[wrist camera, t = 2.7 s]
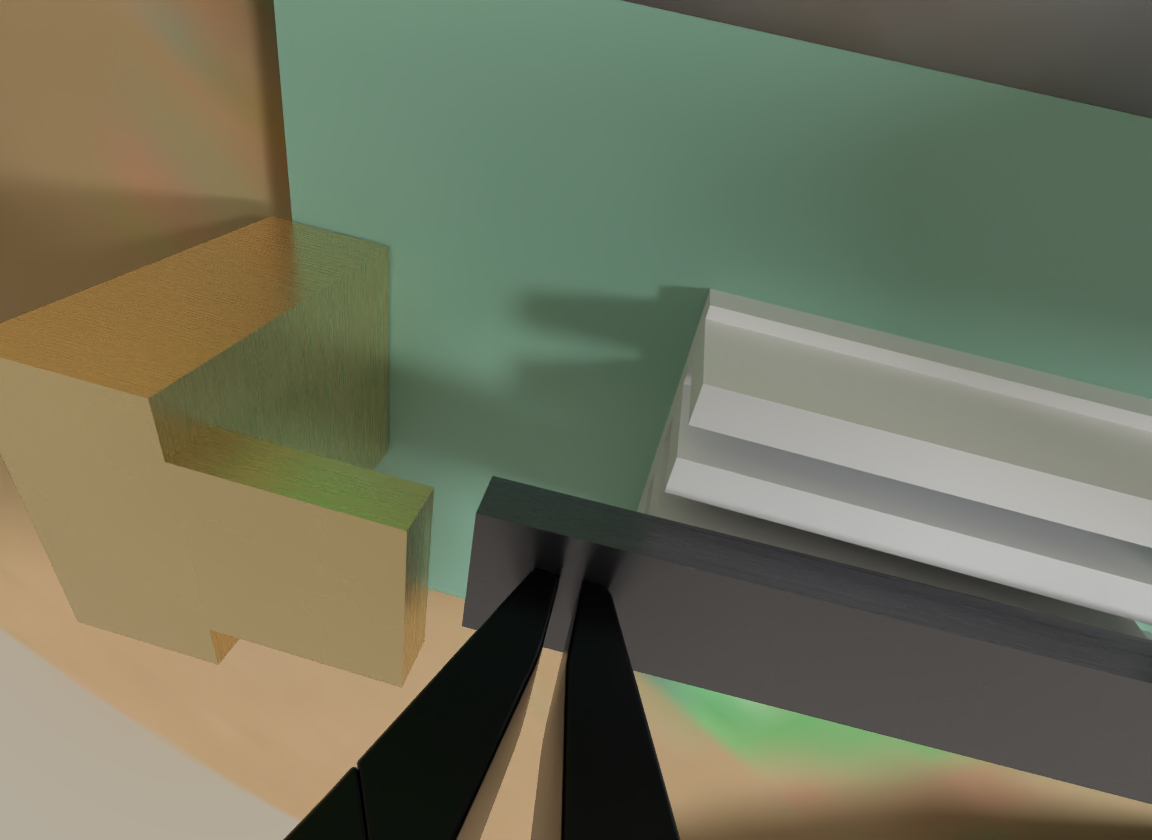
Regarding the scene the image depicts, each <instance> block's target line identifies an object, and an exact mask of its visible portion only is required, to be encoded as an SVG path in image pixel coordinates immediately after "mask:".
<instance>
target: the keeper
mask: <svg viewBox="0 0 1152 840" xmlns="http://www.w3.org/2000/svg"><path fill="white" fill-rule="evenodd" d="M388 368H389V246H387V245H383V244H379V243H375V242H371V241H367V240H363V239H359V238H355V237H351V236H347V235H343V234H339V233H336V232H332V231H328V230H324V229H320V228H316V227H312V226H308V225H304V224H300V223H296V222H292V221H288V220H285V219H281V218H277V217H273V216H270V217H268V218H265V219H263V220H260V221H258V222H255V223H252V224H250V225H247V226H245V227H242V228H240V229H237V230H235V231H232V232H230V233H227V234H225V235H222V236H220V237H217V238H215V239H212V240H209V241H207V242H204V243H202V244H199V245H197V246H194V247H192V248H189V249H187V250H184V251H182V252H179V253H177V254H174V255H172V256H169V257H166V258H164V259H161V260H159V261H156V262H154V263H151V264H149V265H146V266H144V267H141V268H139V269H136V270H134V271H131V272H129V273H126V274H123V275H121V276H118V277H116V278H113V279H111V280H108V281H106V282H103V283H101V284H98V285H96V286H93V287H91V288H88V289H86V290H83V291H80V292H78V293H75V294H73V295H70V296H68V297H65V298H63V299H60V300H58V301H55V302H53V303H50V304H48V305H45V306H43V307H40V308H37V309H35V310H32V311H30V312H27V313H25V314H22V315H20V316H17V317H15V318H12V319H10V320H7V321H5V322H2V323H0V454H1V456H2V458H3V460H4V462H5V465H6V467H7V469H8V471H9V473H10V475H11V478H12V480H13V482H14V484H15V486H16V488H17V491H18V493H19V495H20V497H21V499H22V501H23V504H24V506H25V508H26V510H27V512H28V515H29V517H30V519H31V521H32V523H33V525H34V528H35V530H36V532H37V534H38V536H39V538H40V541H41V543H42V545H43V547H44V549H45V551H46V554H47V556H48V558H49V560H50V562H51V564H52V567H53V569H54V571H55V573H56V575H57V577H58V580H59V582H60V584H61V586H62V588H63V591H64V593H65V595H66V597H67V599H68V601H69V604H70V606H71V608H72V610H73V612H74V614H75V617H76V619H77V621H78V622H80V623H84V624H87V625H90V626H94V627H97V628H100V629H103V630H107V631H110V632H113V633H116V634H120V635H123V636H126V637H130V638H133V639H136V640H139V641H143V642H146V643H149V644H152V645H156V646H159V647H162V648H166V649H169V650H172V651H175V652H179V653H182V654H185V655H188V656H192V657H195V658H198V659H202V660H205V661H208V662H211V663H215V664H218V665H219V663H220V662H221V661H222V660H223V658H224V657H225V656H226V655H227V653H228V652H229V651H230V650H231V648H232V647H233V646H234V645H235V643H236V642H237V641H238V640H239V638H240V639H243V640H246V641H250V642H253V643H256V644H260V645H263V646H266V647H269V648H273V649H276V650H279V651H283V652H286V653H289V654H293V655H296V656H299V657H303V658H306V659H309V660H312V661H316V662H319V663H322V664H326V665H329V666H332V667H336V668H339V669H342V670H346V671H349V672H352V673H356V674H359V675H362V676H365V677H369V678H372V679H375V680H379V681H382V682H385V683H389V684H392V685H395V686H399V687H402V686H403V684H404V682H405V680H406V678H407V676H408V674H409V672H410V670H411V668H412V665H413V663H414V661H415V659H416V657H417V655H418V653H419V651H420V649H421V647H422V645H423V643H424V637H425V622H426V607H427V592H428V577H429V561H430V546H431V531H432V516H433V500H434V487H430V486H427V485H423V484H420V483H416V482H412V481H409V480H405V479H402V478H398V477H395V476H391V475H387V474H384V473H380V472H377V471H373V470H374V469H375V467H376V466H377V465H378V464H379V462H380V461H381V460H382V459H383V457H384V456H385V455H386V454H387V452H388Z"/></svg>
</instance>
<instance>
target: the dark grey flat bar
mask: <svg viewBox="0 0 1152 840" xmlns="http://www.w3.org/2000/svg"><path fill="white" fill-rule="evenodd" d="M534 570H537V571H541V572H544V573H548V574H552V575H556V576H557V577H558V578H559V586H558V590H557V594H556V597H555V601H554V605H553V609H552V613H551V617H550V621H549V625H548V629H547V633H546V636H545V640H544V644H543V647H545V648H549V649H553V650H557V651H560V652H563V651H564V647H565V642H566V638H567V634H568V630H569V626H570V622H571V618H572V615H573V612H574V608H575V605H576V601H577V598H578V594H579V591H580V588H581V586H582V585H584V584H589V585H593V586H597V587H600V588H604V589H607V590H608V591H609V592H610V593H611V595H612V598H613V601H614V605H615V608H616V612H617V616H618V619H619V623H620V626H621V630H622V633H623V637H624V641H625V644H626V648H627V651H628V655H629V658H630V662H631V666H632V669H633V670H634V671H638V672H642V673H646V674H650V675H653V676H657V677H661V678H665V679H669V680H673V681H677V682H681V683H684V684H688V685H692V686H696V687H700V688H704V689H708V690H712V691H715V692H719V693H723V694H727V695H731V696H735V697H739V698H743V699H746V700H750V701H754V702H758V703H762V704H766V705H770V706H774V707H777V708H781V709H785V710H789V711H793V712H797V713H801V714H804V715H808V716H812V717H816V718H820V719H824V720H828V721H832V722H835V723H839V724H843V725H847V726H851V727H855V728H859V729H863V730H866V731H870V732H874V733H878V734H882V735H886V736H890V737H894V738H897V739H901V740H905V741H909V742H913V743H917V744H921V745H925V746H928V747H932V748H936V749H940V750H944V751H948V752H952V753H956V754H959V755H963V756H967V757H971V758H975V759H979V760H983V761H987V762H990V763H994V764H998V765H1002V766H1006V767H1010V768H1014V769H1018V770H1021V771H1025V772H1029V773H1033V774H1037V775H1041V776H1045V777H1049V778H1052V779H1056V780H1060V781H1064V782H1068V783H1072V784H1076V785H1080V786H1083V787H1087V788H1091V789H1095V790H1099V791H1103V792H1107V793H1111V794H1114V795H1118V796H1122V797H1126V798H1130V799H1134V800H1138V801H1142V802H1145V803H1149V804H1152V640H1148V639H1144V638H1140V637H1136V636H1132V635H1128V634H1124V633H1120V632H1116V631H1112V630H1108V629H1104V628H1100V627H1096V626H1092V625H1088V624H1084V623H1080V622H1076V621H1072V620H1068V619H1064V618H1060V617H1056V616H1052V615H1048V614H1044V613H1040V612H1036V611H1032V610H1028V609H1024V608H1020V607H1016V606H1012V605H1008V604H1004V603H1000V602H996V601H992V600H988V599H984V598H980V597H976V596H972V595H968V594H964V593H960V592H956V591H952V590H948V589H944V588H940V587H936V586H932V585H928V584H924V583H920V582H916V581H912V580H908V579H904V578H900V577H896V576H892V575H888V574H884V573H880V572H876V571H872V570H868V569H864V568H860V567H856V566H852V565H848V564H844V563H840V562H836V561H832V560H828V559H824V558H820V557H816V556H812V555H808V554H804V553H800V552H796V551H792V550H788V549H784V548H780V547H776V546H772V545H768V544H764V543H760V542H756V541H752V540H748V539H744V538H740V537H736V536H732V535H728V534H724V533H720V532H716V531H712V530H708V529H704V528H700V527H696V526H692V525H688V524H684V523H680V522H676V521H672V520H668V519H664V518H660V517H656V516H652V515H648V514H644V513H640V512H636V511H632V510H628V509H624V508H620V507H616V506H612V505H608V504H604V503H600V502H596V501H592V500H588V499H584V498H580V497H576V496H572V495H568V494H564V493H560V492H556V491H552V490H548V489H544V488H540V487H536V486H532V485H528V484H524V483H520V482H516V481H512V480H508V479H504V478H500V477H496V476H492V478H491V480H490V482H489V485H488V487H487V489H486V491H485V494H484V496H483V498H482V500H481V503H480V505H479V507H478V509H477V512H476V516H475V524H474V532H473V540H472V548H471V557H470V565H469V573H468V581H467V590H466V598H465V606H464V614H463V622H462V626H464V627H467V628H471V629H475V630H478V629H479V627H480V626H481V625H482V624H483V623H484V622H485V621H486V620H487V619H488V618H489V617H490V615H491V614H492V613H493V612H494V611H495V610H496V609H497V608H498V607H499V606H500V604H501V603H502V602H503V601H504V600H505V599H506V598H507V597H508V596H509V595H510V593H511V592H512V591H513V590H514V589H515V588H516V587H517V586H518V585H519V584H520V582H521V581H522V580H523V579H524V578H525V577H526V576H527V575H528V574H529V573H530V572H531V571H534Z"/></svg>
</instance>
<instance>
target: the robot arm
mask: <svg viewBox="0 0 1152 840" xmlns="http://www.w3.org/2000/svg"><path fill="white" fill-rule="evenodd" d="M558 586H559V578H558V577H557V576H556V575H552V574H548V573H544V572H541V571H537V570H534V571H531V572H530V573H529V574H528V575H527V576H526V577H525V578H524V579H523V580H522V581H521V582H520V584H519V585H518V586H517V587H516V588H515V589H514V590H513V591H512V592H511V593H510V595H509V596H508V597H507V598H506V599H505V600H504V601H503V602H502V603H501V604H500V606H499V607H498V608H497V609H496V610H495V611H494V612H493V613H492V614H491V615H490V617H489V618H488V619H487V620H486V621H485V622H484V623H483V624H482V625H481V626H480V627H479V629H478V630H477V631H476V632H475V633H474V634H473V635H472V636H471V637H470V638H469V640H468V641H467V642H466V643H465V644H464V645H463V646H462V647H461V648H460V649H459V651H458V652H457V653H456V654H455V655H454V656H453V657H452V658H451V659H450V660H449V661H448V663H447V664H446V665H445V666H444V667H443V668H442V669H441V670H440V671H439V672H438V674H437V675H436V676H435V677H434V678H433V679H432V680H431V681H430V682H429V683H428V685H427V686H426V687H425V688H424V689H423V690H422V691H421V692H420V693H419V694H418V695H417V697H416V698H415V699H414V700H413V701H412V702H411V703H410V704H409V705H408V706H407V708H406V709H405V710H404V711H403V712H402V713H401V714H400V715H399V716H398V717H397V719H396V720H395V721H394V722H393V723H392V724H391V725H390V726H389V727H388V728H387V730H386V731H385V732H384V733H383V734H382V735H381V736H380V737H379V738H378V739H377V740H376V742H375V743H374V744H373V745H372V746H371V747H370V748H369V749H368V750H367V751H366V753H365V754H364V755H363V756H362V757H361V758H360V759H359V760H358V762H357V768H356V767H352V768H351V769H350V770H349V771H348V772H347V773H346V774H345V775H344V776H343V777H342V778H341V779H340V781H339V782H338V783H337V784H336V785H335V786H334V787H333V788H332V789H331V790H330V792H329V793H328V794H327V795H326V796H325V797H324V798H323V799H322V800H321V801H320V802H319V803H318V804H317V805H316V806H315V807H314V808H313V809H312V810H311V811H310V813H309V814H308V815H307V816H306V817H305V818H304V819H303V820H302V821H301V822H300V823H299V824H298V825H297V826H296V827H295V828H294V829H293V830H292V831H291V833H289V834H288V835H287V836H286V838H285V839H283V840H480V838H481V835H482V833H483V830H484V827H485V825H486V822H487V819H488V817H489V814H490V812H491V809H492V806H493V804H494V801H495V799H496V796H497V793H498V791H499V788H500V786H501V783H502V780H503V778H504V775H505V773H506V770H507V767H508V765H509V762H510V760H511V757H512V754H513V752H514V749H515V746H516V743H517V740H518V738H519V735H520V732H521V728H522V725H523V721H524V718H525V714H526V710H527V706H528V703H529V699H530V695H531V691H532V687H533V683H534V679H535V675H536V671H537V668H538V664H539V660H540V656H541V652H542V648H543V644H544V640H545V636H546V633H547V629H548V625H549V621H550V617H551V613H552V609H553V605H554V601H555V597H556V594H557V590H558ZM531 840H680V837H679V833H678V830H677V826H676V822H675V819H674V815H673V812H672V808H671V805H670V801H669V797H668V794H667V790H666V787H665V783H664V780H663V776H662V773H661V769H660V765H659V762H658V758H657V755H656V751H655V748H654V744H653V740H652V737H651V733H650V730H649V726H648V723H647V719H646V715H645V712H644V708H643V705H642V701H641V698H640V694H639V690H638V687H637V683H636V680H635V676H634V673H633V669H632V666H631V662H630V658H629V655H628V651H627V648H626V644H625V641H624V637H623V633H622V630H621V626H620V623H619V619H618V616H617V612H616V608H615V605H614V601H613V598H612V595H611V593H610V592H609V591H608V590H607V589H604V588H600V587H597V586H593V585H589V584H584V585H582V586H581V588H580V591H579V594H578V598H577V601H576V605H575V608H574V612H573V615H572V618H571V622H570V626H569V630H568V634H567V638H566V642H565V647H564V651H563V655H562V659H561V664H560V668H559V672H558V676H557V681H556V685H555V689H554V693H553V698H552V702H551V706H550V710H549V714H548V719H547V723H546V728H545V733H544V738H543V744H542V751H541V758H540V766H539V775H538V783H537V791H536V800H535V808H534V817H533V825H532V834H531Z"/></svg>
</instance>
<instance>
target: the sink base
mask: <svg viewBox="0 0 1152 840" xmlns="http://www.w3.org/2000/svg"><path fill="white" fill-rule="evenodd" d="M274 11H275V23H276V35H277V47H278V59H279V70H280V82H281V94H282V106H283V118H284V129H285V141H286V153H287V165H288V177H289V189H290V200H291V212H292V222H296V223H300V224H304V225H308V226H312V227H316V228H320V229H324V230H328V231H332V232H336V233H339V234H343V235H347V236H351V237H355V238H359V239H363V240H367V241H371V242H375V243H379V244H383V245H387V246H389V368H388V452H387V454H386V455H385V456H384V457H383V459H382V460H381V461H380V462H379V464H378V465H377V466H376V467H375V469H374V470H373V471H377V472H380V473H384V474H387V475H391V476H395V477H398V478H402V479H405V480H409V481H412V482H416V483H420V484H423V485H427V486H430V487H434V500H433V516H432V531H431V546H430V561H429V577H428V588H429V589H433V590H436V591H440V592H443V593H447V594H450V595H454V596H457V597H460V598H464V599H465V598H466V590H467V581H468V573H469V565H470V557H471V548H472V540H473V532H474V524H475V516H476V512H477V509H478V507H479V505H480V503H481V500H482V498H483V496H484V494H485V491H486V489H487V487H488V485H489V482H490V480H491V478H492V476H496V477H500V478H504V479H508V480H512V481H516V482H520V483H524V484H528V485H532V486H536V487H540V488H544V489H548V490H552V491H556V492H560V493H564V494H568V495H572V496H576V497H580V498H584V499H588V500H592V501H596V502H600V503H604V504H608V505H612V506H616V507H620V508H624V509H628V510H632V511H636V512H640V513H644V514H648V515H652V516H656V517H660V518H664V519H668V520H672V521H676V522H680V523H684V524H688V525H692V526H696V527H700V528H704V529H708V530H712V531H716V532H720V533H724V534H728V535H732V536H736V537H740V538H744V539H748V540H752V541H756V542H760V543H764V544H768V545H772V546H776V547H780V548H784V549H788V550H792V551H796V552H800V553H804V554H808V555H812V556H816V557H820V558H824V559H828V560H832V561H836V562H840V563H844V564H848V565H852V566H856V567H860V568H864V569H868V570H872V571H876V572H880V573H884V574H888V575H892V576H896V577H900V578H904V579H908V580H912V581H916V582H920V583H924V584H928V585H932V586H936V587H940V588H944V589H948V590H952V591H956V592H960V593H964V594H968V595H972V596H976V597H980V598H984V599H988V600H992V601H996V602H1000V603H1004V604H1008V605H1012V606H1016V607H1020V608H1024V609H1028V610H1032V611H1036V612H1040V613H1044V614H1048V615H1052V616H1056V617H1060V618H1064V619H1068V620H1072V621H1076V622H1080V623H1084V624H1088V625H1092V626H1096V627H1100V628H1104V629H1108V630H1112V631H1116V632H1120V633H1124V634H1128V635H1132V636H1136V637H1140V638H1144V639H1148V640H1152V119H1151V118H1147V117H1142V116H1138V115H1133V114H1129V113H1125V112H1120V111H1116V110H1111V109H1107V108H1102V107H1098V106H1093V105H1089V104H1084V103H1080V102H1075V101H1071V100H1066V99H1062V98H1057V97H1053V96H1048V95H1044V94H1039V93H1035V92H1030V91H1026V90H1021V89H1017V88H1012V87H1008V86H1003V85H999V84H994V83H990V82H985V81H981V80H976V79H972V78H967V77H963V76H958V75H954V74H949V73H945V72H940V71H936V70H931V69H927V68H922V67H918V66H914V65H909V64H905V63H900V62H896V61H891V60H887V59H882V58H878V57H873V56H869V55H864V54H860V53H855V52H851V51H846V50H842V49H837V48H833V47H828V46H824V45H819V44H815V43H810V42H806V41H801V40H797V39H792V38H788V37H783V36H779V35H774V34H770V33H765V32H761V31H756V30H752V29H747V28H743V27H738V26H734V25H729V24H725V23H720V22H716V21H712V20H707V19H703V18H698V17H694V16H689V15H685V14H680V13H676V12H671V11H667V10H662V9H658V8H653V7H649V6H644V5H640V4H635V3H631V2H626V1H622V0H274Z"/></svg>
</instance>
